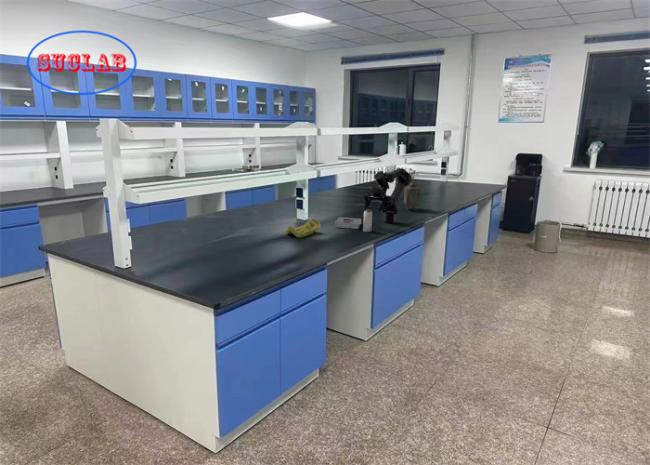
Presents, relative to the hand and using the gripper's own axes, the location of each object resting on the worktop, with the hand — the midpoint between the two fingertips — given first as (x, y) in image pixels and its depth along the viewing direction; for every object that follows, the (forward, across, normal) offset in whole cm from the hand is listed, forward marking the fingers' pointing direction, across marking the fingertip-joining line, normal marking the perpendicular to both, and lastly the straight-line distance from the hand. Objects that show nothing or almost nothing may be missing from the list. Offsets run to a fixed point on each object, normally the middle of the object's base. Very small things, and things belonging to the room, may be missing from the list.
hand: (372, 210), depth 254 cm
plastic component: (+33, -24, -16) cm, 44 cm away
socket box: (+9, -15, +7) cm, 19 cm away
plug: (+12, 0, +5) cm, 13 cm away
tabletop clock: (-44, -7, +60) cm, 74 cm away
